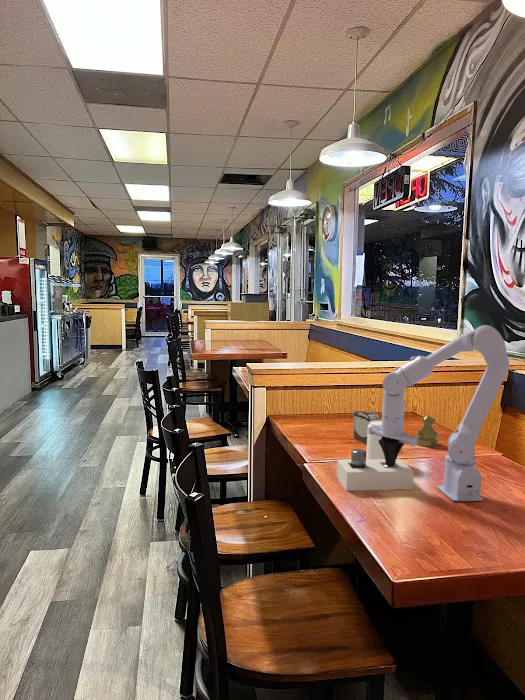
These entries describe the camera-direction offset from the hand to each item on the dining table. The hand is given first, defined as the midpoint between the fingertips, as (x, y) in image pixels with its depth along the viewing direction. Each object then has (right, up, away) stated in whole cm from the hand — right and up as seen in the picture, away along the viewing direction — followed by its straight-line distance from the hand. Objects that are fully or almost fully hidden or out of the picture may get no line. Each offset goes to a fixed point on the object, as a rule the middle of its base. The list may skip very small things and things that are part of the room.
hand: (390, 465), depth 136 cm
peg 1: (-9, 0, -1) cm, 9 cm away
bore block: (-5, -5, 0) cm, 7 cm away
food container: (+2, -1, +39) cm, 39 cm away
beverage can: (+1, -3, +19) cm, 19 cm away
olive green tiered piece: (+22, -2, +38) cm, 44 cm away
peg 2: (0, -4, 0) cm, 4 cm away
